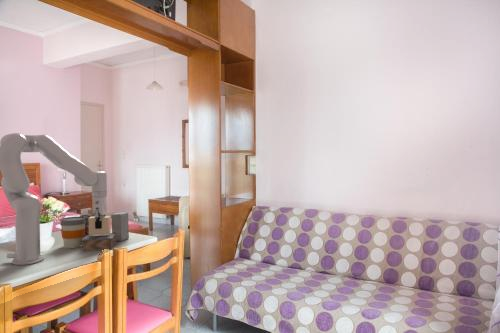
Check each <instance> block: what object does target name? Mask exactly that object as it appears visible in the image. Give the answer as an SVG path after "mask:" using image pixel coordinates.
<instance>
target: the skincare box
mask: <svg viewBox="0 0 500 333" xmlns="http://www.w3.org/2000/svg"><path fill="white" fill-rule="evenodd" d="M110 220H111V233H117V234H116V242H123V241H125V240H127V239H129V238H130V236H129V235H130V231H129V230H130V229H129V226H130V225H129V212H117V213H116V212H115V213H112V214H111V215H110Z"/></svg>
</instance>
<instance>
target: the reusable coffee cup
mask: <svg viewBox="0 0 500 333" xmlns="http://www.w3.org/2000/svg"><path fill="white" fill-rule="evenodd" d="M85 223H86V219H85V217H79V216H69V217H63V218H61V219H60V228H61V229H60V233H61V238H62V241H63V246H64V247H65V248H67V249H68V248H71V249H72V248H78V247H82V246H83V240H82V239H83V237H84V236H85ZM81 245H82V246H81Z"/></svg>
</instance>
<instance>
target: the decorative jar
mask: <svg viewBox="0 0 500 333" xmlns="http://www.w3.org/2000/svg"><path fill="white" fill-rule="evenodd" d="M92 216H94V213H93V208H92V209H91V208H90V209H88V210H87V211H86V212H82V213H81V214H80V215H78V217H85V219H86V223H85V236H86V235H88V234H89V218H90V217H92ZM104 216H107V215H106V214H104ZM85 236H84V237H85ZM84 237H83V238H84Z"/></svg>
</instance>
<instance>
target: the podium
mask: <svg viewBox="0 0 500 333" xmlns="http://www.w3.org/2000/svg"><path fill="white" fill-rule="evenodd" d="M116 234H117V233H112V232H110V233H109V234H99V235H89V234H88V235H86V236H85V237H84V238H83V239H82V240H83V245H82V251H102V250H103V249H107V250H112V249H113V248H114V246H115V245H116V243H117V241H116Z"/></svg>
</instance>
